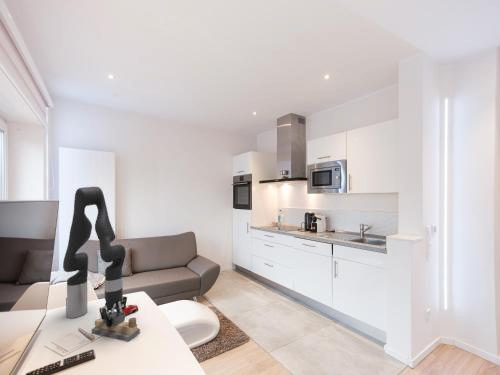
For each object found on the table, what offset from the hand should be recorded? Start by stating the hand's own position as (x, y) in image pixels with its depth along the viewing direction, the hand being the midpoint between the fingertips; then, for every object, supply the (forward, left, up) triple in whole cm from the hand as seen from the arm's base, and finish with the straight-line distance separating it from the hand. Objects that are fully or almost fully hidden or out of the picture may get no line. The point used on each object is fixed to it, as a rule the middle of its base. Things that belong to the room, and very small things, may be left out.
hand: (114, 323), depth 116 cm
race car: (-9, +16, -5) cm, 19 cm away
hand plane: (+1, 0, -4) cm, 4 cm away
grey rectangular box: (0, 0, +1) cm, 1 cm away
